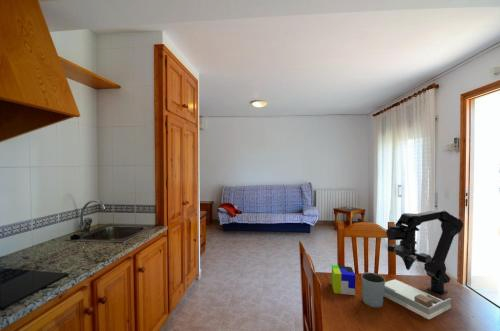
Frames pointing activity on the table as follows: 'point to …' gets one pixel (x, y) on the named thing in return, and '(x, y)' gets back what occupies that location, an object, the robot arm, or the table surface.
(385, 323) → the table surface
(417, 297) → the block
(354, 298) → the table surface
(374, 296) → the grey cup
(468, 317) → the table surface
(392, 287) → the tray
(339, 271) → the puzzle toy
